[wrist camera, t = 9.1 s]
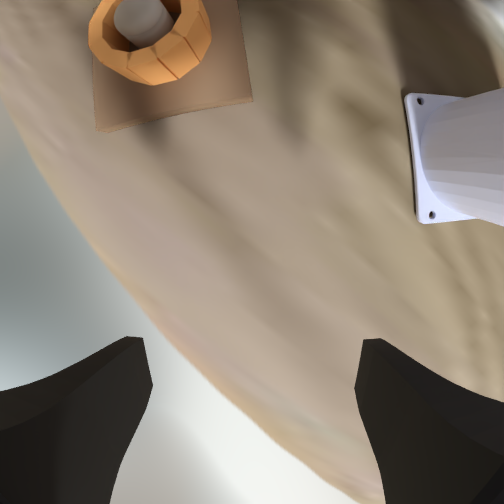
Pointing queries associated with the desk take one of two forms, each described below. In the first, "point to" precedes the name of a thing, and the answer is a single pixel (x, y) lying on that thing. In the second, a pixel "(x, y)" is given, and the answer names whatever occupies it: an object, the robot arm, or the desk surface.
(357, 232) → the desk surface
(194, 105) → the post stand
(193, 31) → the ring
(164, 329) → the desk surface
